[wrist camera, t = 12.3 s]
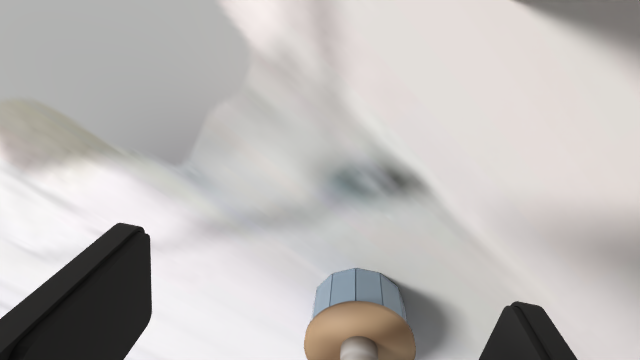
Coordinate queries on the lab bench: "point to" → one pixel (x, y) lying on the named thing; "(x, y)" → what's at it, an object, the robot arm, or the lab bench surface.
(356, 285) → the bowl
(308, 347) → the lid
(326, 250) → the lab bench surface
